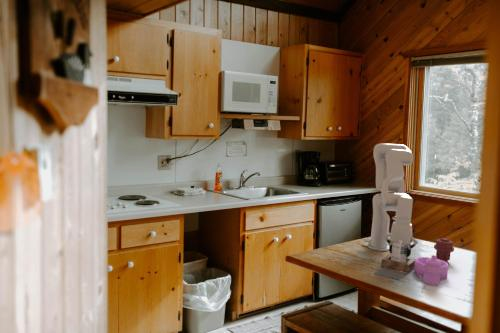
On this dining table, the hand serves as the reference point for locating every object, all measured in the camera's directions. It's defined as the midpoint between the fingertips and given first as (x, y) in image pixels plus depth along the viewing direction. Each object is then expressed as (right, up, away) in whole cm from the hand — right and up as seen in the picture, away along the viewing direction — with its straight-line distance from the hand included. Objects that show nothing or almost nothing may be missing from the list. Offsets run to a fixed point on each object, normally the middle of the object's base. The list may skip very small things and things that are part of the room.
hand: (399, 254), depth 246 cm
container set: (+11, -9, -13) cm, 19 cm away
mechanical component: (+28, -7, +15) cm, 32 cm away
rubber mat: (-8, -7, -11) cm, 15 cm away
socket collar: (0, -6, +1) cm, 6 cm away
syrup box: (0, -7, +1) cm, 7 cm away
